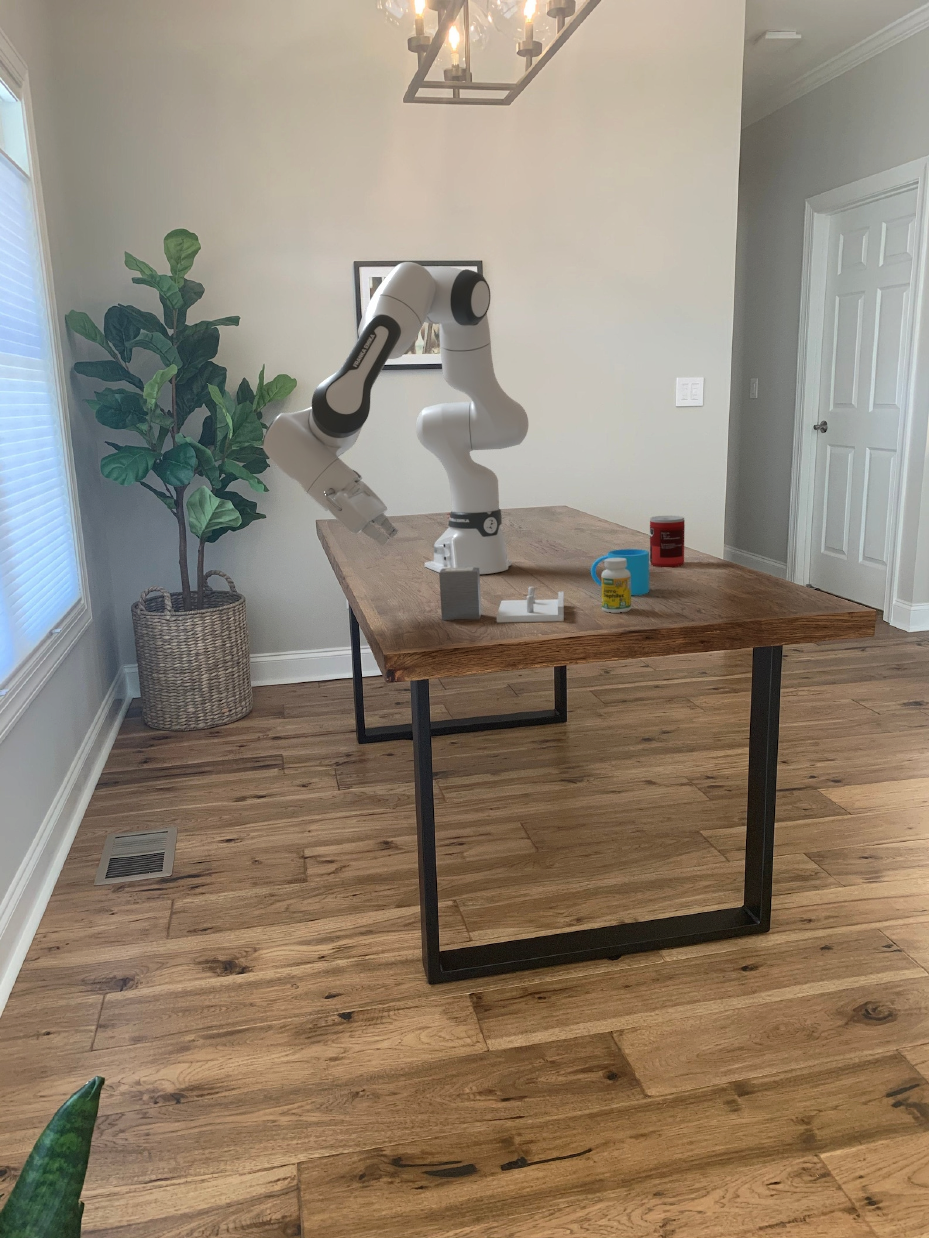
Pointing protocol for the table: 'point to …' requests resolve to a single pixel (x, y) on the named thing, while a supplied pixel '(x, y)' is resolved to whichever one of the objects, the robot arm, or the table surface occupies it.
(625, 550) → the mug
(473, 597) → the block
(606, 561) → the supplement bottle
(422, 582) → the table surface
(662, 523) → the canned food
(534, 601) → the white pegged base
